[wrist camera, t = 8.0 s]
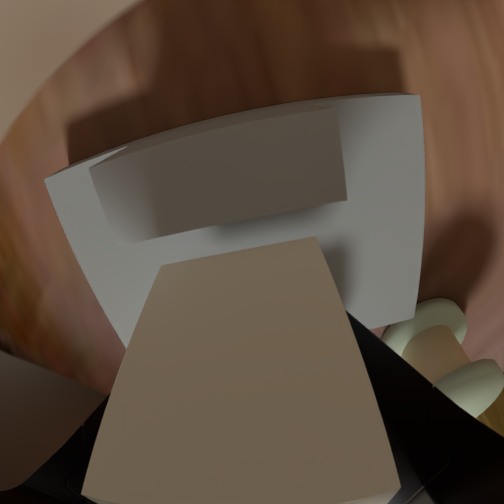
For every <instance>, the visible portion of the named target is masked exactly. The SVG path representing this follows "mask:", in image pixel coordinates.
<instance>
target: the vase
mask: <svg viewBox="0 0 504 504" xmlns="http://www.w3.org/2000/svg"><path fill="white" fill-rule="evenodd" d="M476 419H478V420H479V421H481V422H482V423H484V424H485V425H487V426H488V427H490V428H491V429H493V430H494V431H496V432H497V433H499V434H500V435H502V436H503V437H504V387H503V389H502V391H501V393H500V394H499V396H498V397H497V398H496V399H495V401H494V402H493V403H492V404H491V405H490V406H489V407H488V408H487V409H486V410H485V411H484V412H482V413H481V414H480V415H479V416H478V417H476Z"/></svg>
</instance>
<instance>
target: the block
mask: <svg viewBox="0 0 504 504" xmlns="http://www.w3.org/2000/svg"><path fill="white" fill-rule="evenodd" d="M400 488H401V485H400V481H399V477H398V473H397V469H396V466H395V462H394V458H393V455H392V451H391V447H390V444H389V440H388V437H387V433H386V430H385V427H384V423H383V420H382V417H381V413H380V410H379V407H378V404H377V401H376V397H375V394H374V391H373V388H372V385H371V382H370V379H369V376H368V373H367V370H366V367H365V364H364V361H363V358H362V355H361V352H360V350H359V347H358V344H357V341H356V338H355V336H354V333H353V330H352V327H351V325H350V322H349V319H348V316H347V314H346V311H345V308H344V306H343V303H342V300H341V298H340V295H339V293H338V290H337V287H336V285H335V282H334V280H333V277H332V275H331V272H330V270H329V267H328V265H327V262H326V260H325V257H324V255H323V253H322V250H321V248H320V245H319V243H318V241H317V238H316V236H313V237H308V238H302V239H297V240H292V241H286V242H281V243H276V244H271V245H265V246H260V247H255V248H249V249H244V250H239V251H233V252H228V253H223V254H218V255H212V256H207V257H202V258H197V259H191V260H186V261H181V262H176V263H171V264H165V265H161V267H160V269H159V271H158V274H157V276H156V278H155V281H154V283H153V285H152V288H151V290H150V292H149V295H148V297H147V299H146V302H145V304H144V307H143V309H142V312H141V314H140V316H139V319H138V321H137V324H136V326H135V329H134V332H133V334H132V337H131V339H130V342H129V344H128V347H127V350H126V352H125V355H124V358H123V360H122V363H121V366H120V369H119V371H118V374H117V377H116V380H115V383H114V386H113V388H112V391H111V394H110V397H109V400H108V403H107V406H106V409H105V412H104V415H103V418H102V422H101V425H100V428H99V431H98V434H97V438H96V441H95V444H94V448H93V451H92V455H91V458H90V462H89V465H88V469H87V473H86V477H85V480H84V484H83V488H82V492H81V495H83V496H85V497H87V498H88V499H90V500H92V501H94V502H96V503H98V504H388V502H389V501H390V500H391V499H392V498H393V497H394V495H395V494H396V493H397V492H398V490H399V489H400Z"/></svg>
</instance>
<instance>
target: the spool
mask: <svg viewBox="0 0 504 504" xmlns="http://www.w3.org/2000/svg"><path fill="white" fill-rule="evenodd" d="M466 331H467V319H466V317H465V315H464V314H463V312H462V311H461V309H460V308H459V307H458V305H457V304H456V303H455V302H453V301H452V300H450V299H446V298H434V299H429V300H426V301H423V302H421V303H418V304H416V309H415V316H414V318H412V319H409V320H405V321H401V322H398V323H394V324H390V326H389V327H388V328H387V329H386V331H385V333H384V334H383V336H382V338H381V340H382V341H383V342H384V343H385V344H387V345H388V346H389V347H390V348H391V349H393V350H394V351H395V352H396V353H397V354H398V355H400V356H401V357H402V358H403V359H404V360H405V361H407V362H408V363H409V364H410V365H411V366H412V367H414V368H415V369H416V370H417V371H418V372H419V373H421V374H422V375H423V376H424V377H425V378H426V379H427V380H429V381H430V382H431V383H432V384H433V387H434V386H436V387H437V388H438V389H439V390H440V391H441V392H443V393H444V394H445V395H446V396H447V397H449V398H450V399H451V400H452V401H453V402H455V403H456V404H457V405H458V406H460V407H461V408H462V409H464V410H465V411H466V412H468V413H469V414H471V415H472V416H473V417H475V418H476V417H478V416H479V415H480V414H481V413H482V412H484V411H485V410H486V409H487V408H488V407H489V406H490V405H491V404H492V403H493V402H494V401H495V399H496V398H497V397H498V396H499V394H500V393H501V391H502V389H503V387H504V374H503V372H502V370H501V369H500V367H499V366H498V364H497V362H496V361H495V360H493V359H481V360H477V361H474V362H470V360H469V358H468V356H467V355H466V353H465V351H464V350H463V348H462V347H461V343H462V341H463V339H464V337H465V335H466Z"/></svg>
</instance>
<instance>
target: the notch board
mask: <svg viewBox="0 0 504 504" xmlns="http://www.w3.org/2000/svg"><path fill="white" fill-rule="evenodd" d="M44 181H45V184H46V187H47V189H48V192H49V195H50V197H51V200H52V203H53V205H54V208H55V210H56V213H57V215H58V218H59V220H60V222H61V225H62V227H63V230H64V232H65V234H66V236H67V239H68V241H69V243H70V245H71V247H72V250H73V252H74V254H75V256H76V258H77V260H78V262H79V264H80V266H81V268H82V270H83V272H84V274H85V276H86V278H87V280H88V282H89V284H90V286H91V288H92V290H93V292H94V294H95V296H96V297H97V299H98V301H99V303H100V305H101V307H102V308H103V310H104V312H105V314H106V315H107V317H108V319H109V321H110V322H111V324H112V326H113V327H114V329H115V331H116V332H117V334H118V336H119V337H120V339H121V341H122V342H123V344H124V345H125V347H126V348H127V347H128V344H129V342H130V339H131V337H132V334H133V332H134V329H135V326H136V324H137V321H138V319H139V316H140V314H141V312H142V309H143V307H144V304H145V302H146V299H147V297H148V295H149V292H150V290H151V288H152V285H153V283H154V281H155V278H156V276H157V274H158V271H159V269H160V267H161V265H165V264H171V263H176V262H181V261H186V260H191V259H197V258H202V257H207V256H212V255H218V254H223V253H228V252H233V251H239V250H244V249H249V248H255V247H260V246H265V245H271V244H276V243H281V242H286V241H292V240H297V239H302V238H308V237H313V236H316V238H317V241H318V243H319V245H320V248H321V250H322V253H323V255H324V257H325V260H326V262H327V265H328V267H329V270H330V272H331V275H332V277H333V280H334V282H335V285H336V287H337V290H338V293H339V295H340V298H341V300H342V303H343V306H344V308H345V310H346V311H348V312H349V313H350V314H351V315H352V316H354V317H355V318H356V319H357V320H358V321H359V322H361V323H362V324H363V325H364V326H365V327H367V328H368V329H369V330H370V329H374V328H378V327H382V326H386V325H390V324H394V323H398V322H401V321H405V320H409V319H412V318H414V316H415V309H416V303H417V296H418V288H419V280H420V271H421V261H422V250H423V236H424V216H425V155H424V136H423V122H422V111H421V102H420V95H417V94H408V93H397V92H392V93H373V94H359V95H348V96H338V97H329V98H320V99H312V100H305V101H298V102H292V103H285V104H279V105H273V106H268V107H262V108H257V109H252V110H247V111H242V112H237V113H233V114H228V115H224V116H220V117H215V118H211V119H207V120H203V121H199V122H195V123H192V124H188V125H184V126H181V127H177V128H174V129H170V130H167V131H163V132H160V133H157V134H153V135H150V136H147V137H144V138H141V139H138V140H135V141H132V142H129V143H126V144H123V145H120V146H117V147H115V148H112V149H109V150H106V151H104V152H101V153H98V154H96V155H93V156H91V157H88V158H86V159H83V160H81V161H78V162H76V163H73V164H71V165H69V166H67V167H65V168H63V169H61V170H59V171H58V172H56V173H54V174H52V175H50V176H49V177H47V178H45V179H44Z"/></svg>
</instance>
